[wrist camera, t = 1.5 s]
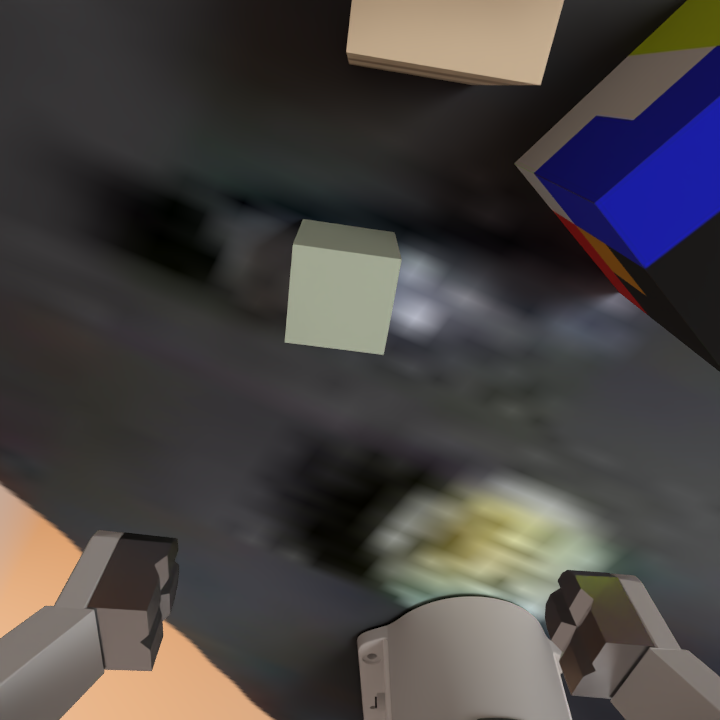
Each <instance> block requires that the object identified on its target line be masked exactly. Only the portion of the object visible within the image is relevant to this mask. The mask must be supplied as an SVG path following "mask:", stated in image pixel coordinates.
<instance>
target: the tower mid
mask: <svg viewBox="0 0 720 720" xmlns="http://www.w3.org/2000/svg"><path fill="white" fill-rule="evenodd" d="M563 2H564V0H352V5H351V14H350V23H349V31H348V40H347V49H346V53H347V57H348V60H353V61H359V62H365V63H371V64H377V65H383V66H389V67H395V68H401V69H407V70H413V71H419V72H425V73H430V74H436V75H442V76H448V77H454V78H460V79H466V80H472V81H478V82H484V83H490V84H496V85H541V82H542V78H543V75H544V71H545V67H546V64H547V60H548V56H549V53H550V49H551V46H552V42H553V38H554V35H555V31H556V28H557V24H558V20H559V17H560V13H561V9H562V6H563Z"/></svg>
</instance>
